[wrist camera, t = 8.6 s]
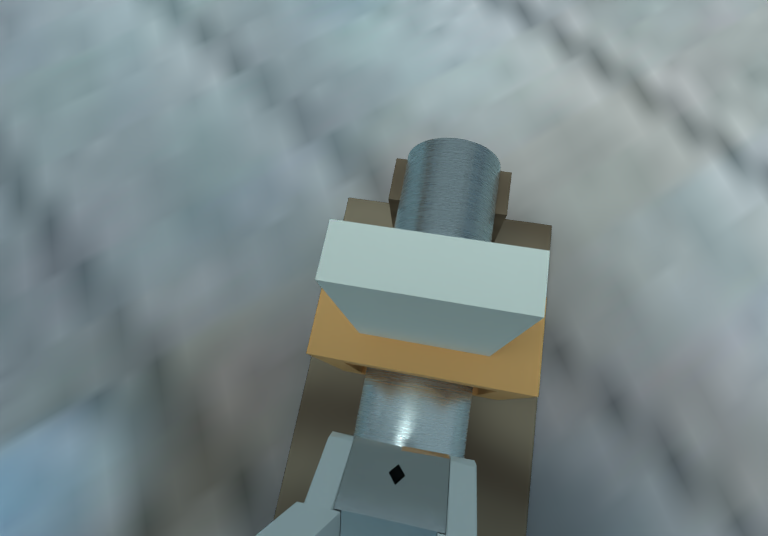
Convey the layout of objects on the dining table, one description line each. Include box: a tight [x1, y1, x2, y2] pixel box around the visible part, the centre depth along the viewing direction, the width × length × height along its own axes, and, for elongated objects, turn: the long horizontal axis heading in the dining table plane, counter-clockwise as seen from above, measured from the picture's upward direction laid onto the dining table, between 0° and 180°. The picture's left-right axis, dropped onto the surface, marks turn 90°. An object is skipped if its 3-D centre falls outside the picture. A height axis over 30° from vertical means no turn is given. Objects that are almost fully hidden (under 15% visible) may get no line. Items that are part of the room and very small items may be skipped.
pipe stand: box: [273, 158, 552, 536], centre depth 19 cm, size 26×12×8 cm, turn 169°
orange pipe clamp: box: [306, 219, 550, 400], centre depth 14 cm, size 3×7×13 cm, turn 79°
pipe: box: [354, 138, 501, 458], centre depth 16 cm, size 24×4×4 cm, turn 169°
